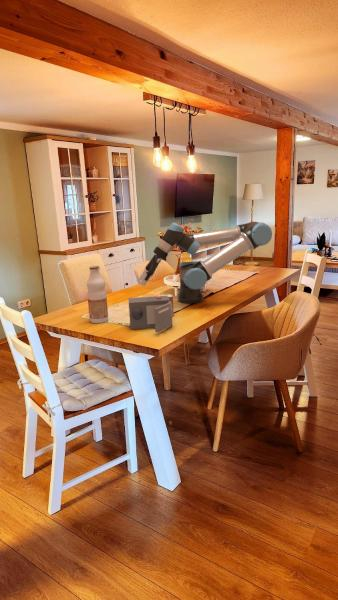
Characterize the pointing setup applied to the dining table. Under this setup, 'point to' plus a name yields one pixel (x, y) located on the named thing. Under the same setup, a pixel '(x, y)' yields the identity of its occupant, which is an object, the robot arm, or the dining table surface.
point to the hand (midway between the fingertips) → (141, 282)
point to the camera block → (144, 311)
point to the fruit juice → (97, 296)
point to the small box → (170, 300)
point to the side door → (163, 317)
